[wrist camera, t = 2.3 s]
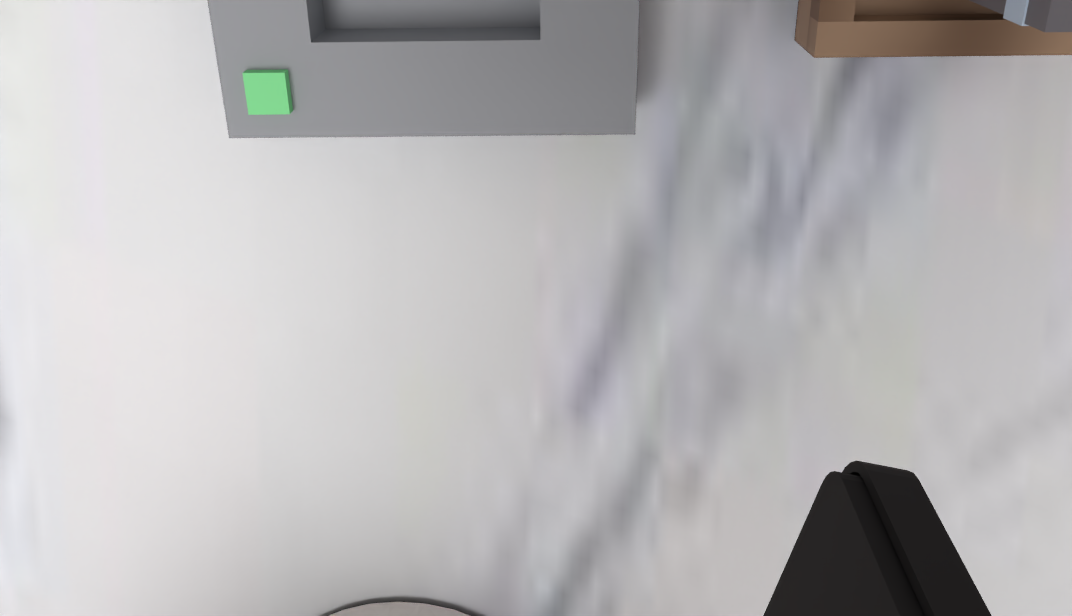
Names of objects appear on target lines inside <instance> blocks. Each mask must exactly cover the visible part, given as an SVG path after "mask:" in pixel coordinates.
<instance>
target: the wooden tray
mask: <svg viewBox="0 0 1072 616" xmlns="http://www.w3.org/2000/svg"><path fill="white" fill-rule="evenodd" d="M795 41H796V42H797V43H798V44H799V45H800V46H802V47H803V48H804V49H805V50H806V51H807V52H808V53H809V54H811V55H812V56H813V57H814V58H822V57H916V56H1011V55H1072V32H1043V31H1040V30H1038V29H1036V28H1033V27H1031V26H1020V25H1018V24H1016V23H1013V22H1011V21H1009V20H1006V19H1004V18H1003V14H1000V13H998V12H995V11H993V10H991V9H988V8H986V7H984V6H981V5H979V4H977V3H974V2H972V1H970V0H799V2H798V12H797V22H796V31H795Z"/></svg>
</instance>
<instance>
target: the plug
mask: <svg viewBox="0 0 1072 616" xmlns="http://www.w3.org/2000/svg"><path fill="white" fill-rule="evenodd" d="M970 1H972V2H974V3H977V4H979V5H981V6H984V7H986V8H988V9H991V10H993V11H995V12H998V13H1000V14H1003V18H1004V19H1006V20H1009V21H1011V22H1013V23H1016V24H1018V25H1020V26H1031V27H1033V28H1036V29H1038V30H1040V31H1043V32H1072V0H970Z"/></svg>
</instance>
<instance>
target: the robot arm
mask: <svg viewBox="0 0 1072 616" xmlns="http://www.w3.org/2000/svg"><path fill="white" fill-rule="evenodd" d="M329 616H470V615H467V614H464V613H462V612H459V611H456V610H453V609H449V608H444V607H440V606H435V605H430V604H424V603H410V602H386V603H372V604H366V605H362V606H357V607H353V608H349V609H344V610H341V611H339V612H336V613H334V614H331V615H329ZM764 616H991V614H990V612H989V610H988V608H987V606H986V605H985V603H984V601H983V599H982V597H981V595H980V593H979V591H978V590H977V588H976V586H975V584H974V582H973V580H972V578H971V577H970V575H969V573H968V571H967V569H966V567H965V565H964V563H963V562H962V560H961V558H960V556H959V554H958V552H957V550H956V548H955V547H954V545H953V543H952V541H951V539H950V537H949V535H948V534H947V532H946V530H945V528H944V526H943V524H942V522H941V520H940V519H939V517H938V515H937V513H936V511H935V509H934V507H933V505H932V504H931V502H930V500H929V498H928V496H927V494H926V492H925V491H924V489H923V487H922V485H921V483H920V481H919V479H918V478H917V477H916V476H915V474H914V473H912V472H910V471H907V470H903V469H897V468H892V467H887V466H882V465H876V464H871V463H866V462H861V461H854V462H851V463H849V464H848V465H847V466H846V467H845V469H844V470H843V472H842V473H841V472H836V471H834V472H830V473H829V474H828V475H827V476H826V477H825V479H824V481H823V483H822V485H821V487H820V489H819V492H818V494H817V496H816V498H815V501H814V503H813V505H812V507H811V510H810V512H809V514H808V516H807V519H806V521H805V523H804V525H803V528H802V530H801V532H800V534H799V537H798V539H797V541H796V543H795V546H794V548H793V550H792V552H791V555H790V557H789V559H788V562H787V564H786V566H785V568H784V571H783V573H782V575H781V577H780V580H779V582H778V584H777V586H776V589H775V591H774V593H773V595H772V598H771V600H770V602H769V604H768V607H767V609H766V611H765V613H764Z"/></svg>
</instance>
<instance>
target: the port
mask: <svg viewBox="0 0 1072 616" xmlns="http://www.w3.org/2000/svg"><path fill="white" fill-rule="evenodd" d="M208 6H209V13H210V19H211V25H212V32H213V38H214V44H215V51H216V57H217V64H218V70H219V76H220V83H221V89H222V95H223V102H224V108H225V114H226V121H227V127H228V133H229V138H283V137H391V136H499V135H607V134H635V121H636V91H637V61H638V30H639V0H208Z"/></svg>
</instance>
